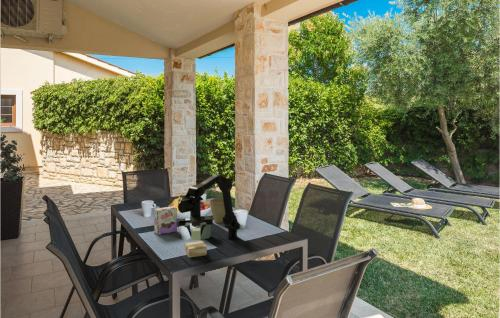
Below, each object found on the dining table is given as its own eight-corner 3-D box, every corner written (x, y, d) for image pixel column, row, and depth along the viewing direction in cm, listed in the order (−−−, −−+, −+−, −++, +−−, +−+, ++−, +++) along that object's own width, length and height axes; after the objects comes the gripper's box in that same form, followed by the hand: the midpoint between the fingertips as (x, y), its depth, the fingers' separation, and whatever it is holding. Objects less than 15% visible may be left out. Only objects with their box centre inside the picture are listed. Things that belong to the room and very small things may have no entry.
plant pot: (219, 225, 242) (219, 203, 240) (205, 221, 252) (205, 200, 250) (234, 221, 253) (234, 200, 251) (220, 217, 263) (220, 197, 261)
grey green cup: (208, 239, 214) (208, 221, 212) (193, 238, 216) (193, 219, 214) (213, 234, 223) (213, 216, 222) (198, 233, 225) (198, 215, 224)
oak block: (185, 251, 195) (185, 242, 194) (202, 249, 198) (202, 240, 198) (188, 257, 186) (188, 249, 185) (206, 255, 189) (206, 246, 189)
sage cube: (191, 237, 193) (191, 228, 193) (200, 236, 194) (199, 228, 194) (191, 240, 188) (191, 231, 188) (200, 239, 189) (200, 230, 189)
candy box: (157, 235, 221) (157, 210, 219) (154, 233, 226) (153, 208, 224) (177, 231, 229) (177, 207, 227) (173, 229, 234) (173, 205, 232)
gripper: (178, 213, 180) (178, 242, 181) (213, 212, 183) (213, 240, 185) (178, 208, 191) (178, 235, 192) (211, 207, 194) (212, 233, 196)
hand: (195, 236), depth 191 cm, fingers closed on sage cube, 5 cm apart
